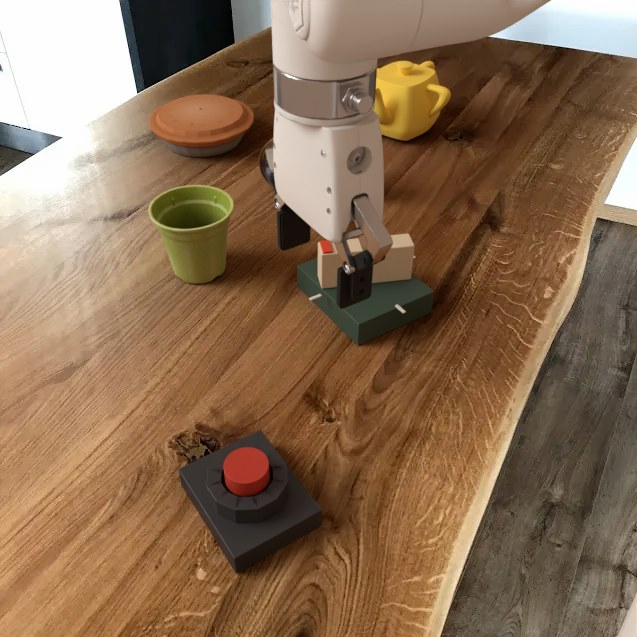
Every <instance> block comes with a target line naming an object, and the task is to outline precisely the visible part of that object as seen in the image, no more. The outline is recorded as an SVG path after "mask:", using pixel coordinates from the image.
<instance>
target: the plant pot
mask: <svg viewBox="0 0 637 637" xmlns="http://www.w3.org/2000/svg"><path fill="white" fill-rule="evenodd" d="M234 209H235V203H234V199H233V198H232V196H231V195H230V194H229V193H228V192H226V191H225V190H223V189H221V188H220V187H219V188H218V187H216V186H210V185H205V184H187V185H181V186H177V187H173V188H170V189H167V190H166V191H164V192H162V193H160V194H158V195H157V196H156V197H154V198H153V200H151V202H150V203H149V206H148V210H147V212H148V216H149V219H150V220H151V222H152V223H153V225H155V227H156V229H157V231H158V232H159V233H160V236H161V239H162V242H163V244H164V248H165V250H166V253H167V256H168V259H169V261H170V266H171V268H172V272H173V274H174V275H175V277H177V278H179V279H180V280H182V281H183V282H184V283H188V284H194V285H195V284H196V285H198V284H206V283H210V282H212V281H213V280H214V279H215V278H217V277H219V276H222V275H223V274H224V272H225V270H226V268H227V246H228V230H229V229H228V228H229V224H230V222H231V216H232V214H233V213H234Z"/></svg>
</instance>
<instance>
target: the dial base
mask: <svg viewBox="0 0 637 637" xmlns="http://www.w3.org/2000/svg"><path fill="white" fill-rule="evenodd" d="M414 259H416V255H414V257H413V260H414ZM296 278H297V279H296V285H297V287H298V288H299V289H300V290H301V291H302V292H303V293H304V294H305V296H307V298H308V300H309V301H310V302H313V303H314V304H315V305H316V306H317V307H318V308H319V309H320V310H321V311H322V312H323V313H324V314H325V315H326V316H327V317H328V318H329V319H330V320H331V321H332V322H333V323H334V324H335V325H336V326H337V327H338V328H339V329H340V330H341V331H342V332H343V333H344V334H346V336H347V337H348V338H349V339H351V341H353V342H354V344H356V346H360V345H362V344H365V343H367V342H369V341H371V340H374V339H376V338H378V337H380V336H382V335H385V334H387V333H389V332H391V331H393V330H396V329H397V328H398V329H399V328H400V327H402V326H405V325H407V324H408V323H411V322H413V321H416V320H418V319H420V318H423V317H424V316H427V315H429V314H431V313H432V310H433V304H434V297H435V291H434V290H433V289H432V288H431V287H430V286H428V285H427V284H426V283H425V282H423V281H422V280H421V279H420V278H419V277H417V276H416V275H415V274H414V273H412V275H411V279H408V280H399V281H389V282H380V283H372V291H371V296H370V297H369V298H368V299H366V300H363V301H361V302H359V303H356V304H354V305H351V306H349V307H346V308H344V309H341V308H340V307H339V306H338V305H337V303H336V298H337V287H332V288H323V289H322V288H321V285H320V282H319V278H318V257H315V258H313V259H310V260H307V261H305V262H302V263H299V264H297V265H296Z"/></svg>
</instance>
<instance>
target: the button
mask: <svg viewBox="0 0 637 637" xmlns="http://www.w3.org/2000/svg"><path fill="white" fill-rule="evenodd" d="M223 467H224V476H225V483H226V486H227V488H228V489H229V490H230V491H231V492H232V493H234V494H236V495H238V496H243V497H249V496H254V495H257V494H259V493H260V492H262V491H263V490H264V489H265V488H266V487H267V485H268V483H269V480H270V473H269V461H268V458H267V456H266V455H265V454H264V453H263V452H262V451H260V450H258V449H256V448H252V447H244V448H239V449H237V450H235V451H233V452H231V453H230V454H229V455H228V456H227V458H226V459H225V461H224V466H223Z"/></svg>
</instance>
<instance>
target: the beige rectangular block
mask: <svg viewBox="0 0 637 637" xmlns="http://www.w3.org/2000/svg"><path fill="white" fill-rule="evenodd" d="M390 236H391V237H392V240H393V245H392V247H391V248H390V250H389V251H388V253H387V254H386V257H385V259H384V260H383V261H381V262H378V263H377V264H375V265H373V276H372V283H380V282H389V281H399V280H408V279H411V275H412V274H413V266H414V259H413V257H414V256H415V248H416V247H415V244H414V242H413V239H412V236H411V235H410V233H400V234H399V233H398V234H390ZM347 243H348V245H349V248H350V251H351V254H352V256H354V255H356V254H358V253H360V252H362V251H363V250H362V247H361V245H360V242H359V239H358V237H355V238H351V239H348V240H347ZM317 258H318V278H319V282H320V285H321V288H322V289H323V288H332V287H337V269H338V268H339V267H341V266H342V264H341V261H340V258H339V255H338V252H337V250H336V247H335V244H334V243H333V242H331V241H329V240H327V239H324V240H319V241H318V242H317Z"/></svg>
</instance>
